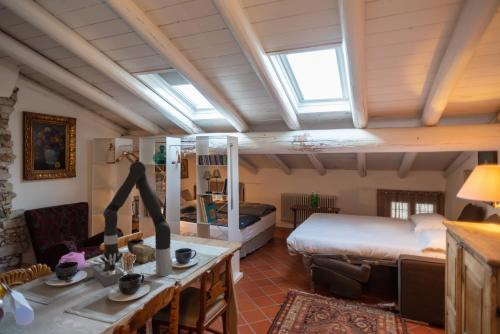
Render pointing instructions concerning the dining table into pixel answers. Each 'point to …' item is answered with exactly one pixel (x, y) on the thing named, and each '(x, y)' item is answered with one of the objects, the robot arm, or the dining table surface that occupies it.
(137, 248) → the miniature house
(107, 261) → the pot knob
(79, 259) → the teapot
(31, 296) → the dining table surface
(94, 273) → the console
